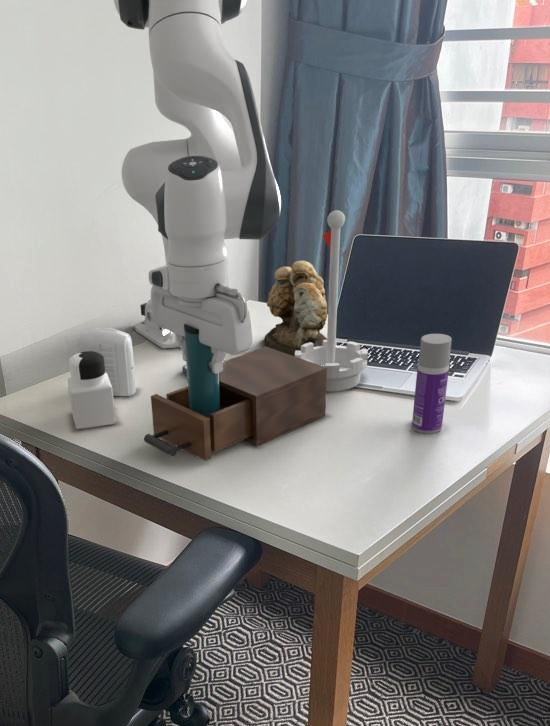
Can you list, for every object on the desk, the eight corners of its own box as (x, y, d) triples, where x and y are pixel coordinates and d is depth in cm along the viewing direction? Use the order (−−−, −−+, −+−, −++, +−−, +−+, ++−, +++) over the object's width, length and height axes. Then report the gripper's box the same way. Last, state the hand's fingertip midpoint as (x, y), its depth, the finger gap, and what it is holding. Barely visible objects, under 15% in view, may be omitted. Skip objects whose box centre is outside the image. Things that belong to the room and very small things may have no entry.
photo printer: (139, 389, 158) (133, 326, 152) (131, 398, 155) (124, 334, 148) (90, 385, 162) (82, 323, 155) (81, 394, 158) (72, 331, 152)
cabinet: (256, 446, 135) (256, 396, 130) (198, 419, 145) (196, 371, 140) (325, 416, 142) (327, 367, 137) (265, 392, 152) (265, 346, 148)
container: (440, 434, 133) (451, 344, 125) (410, 432, 135) (419, 343, 126) (442, 422, 137) (453, 333, 128) (413, 420, 138) (421, 332, 130)
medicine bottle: (111, 408, 152) (103, 345, 145) (116, 424, 146) (109, 359, 140) (72, 414, 151) (63, 350, 145) (76, 430, 145) (67, 365, 139)
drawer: (183, 470, 128) (181, 430, 124) (132, 442, 138) (128, 403, 134) (274, 431, 137) (274, 392, 133) (220, 407, 146) (218, 370, 142)
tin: (182, 413, 136) (177, 324, 128) (206, 403, 138) (202, 315, 130) (202, 422, 133) (198, 331, 124) (227, 412, 135) (224, 322, 127)
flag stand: (378, 386, 151) (391, 212, 134) (311, 398, 148) (316, 223, 132) (346, 361, 161) (355, 198, 145) (283, 373, 159) (285, 208, 143)
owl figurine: (247, 340, 175) (246, 258, 166) (294, 328, 179) (295, 247, 170) (297, 366, 162) (299, 277, 152) (346, 352, 166) (351, 265, 156)
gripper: (262, 286, 118) (262, 378, 125) (173, 261, 132) (178, 344, 139) (228, 298, 115) (230, 391, 122) (141, 270, 129) (148, 355, 137)
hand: (202, 366), depth 131 cm, fingers closed on tin, 5 cm apart
